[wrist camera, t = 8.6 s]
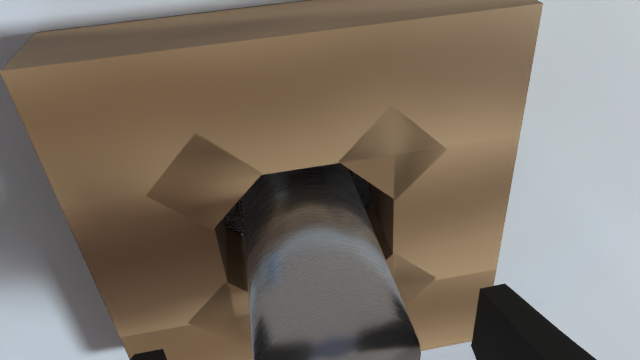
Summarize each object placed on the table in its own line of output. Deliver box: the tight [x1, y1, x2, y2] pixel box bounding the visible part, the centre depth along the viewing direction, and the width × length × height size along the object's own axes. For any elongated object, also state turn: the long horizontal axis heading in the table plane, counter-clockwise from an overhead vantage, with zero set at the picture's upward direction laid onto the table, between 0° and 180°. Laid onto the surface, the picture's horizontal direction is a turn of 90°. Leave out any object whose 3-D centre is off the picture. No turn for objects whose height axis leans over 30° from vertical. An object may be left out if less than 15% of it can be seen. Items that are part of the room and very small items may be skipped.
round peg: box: [241, 163, 421, 360], centre depth 14 cm, size 4×4×7 cm
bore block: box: [0, 0, 543, 360], centre depth 16 cm, size 12×12×3 cm
